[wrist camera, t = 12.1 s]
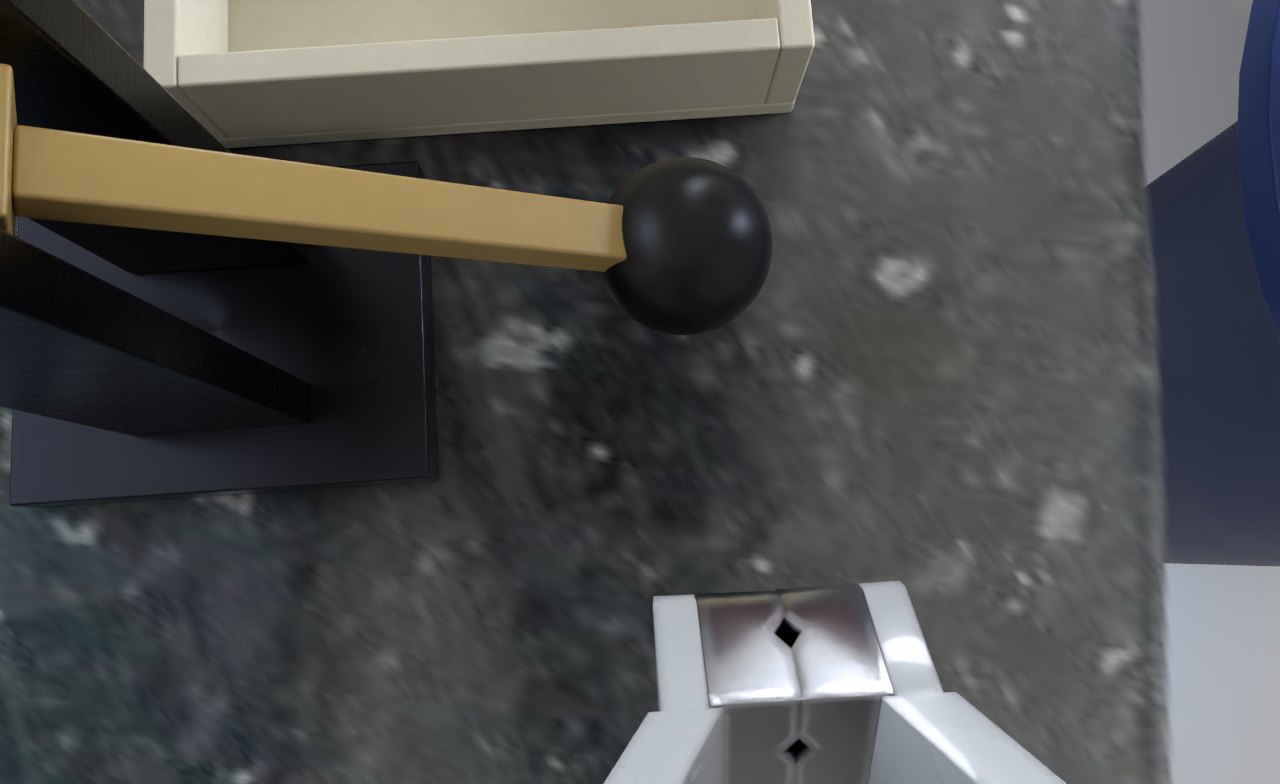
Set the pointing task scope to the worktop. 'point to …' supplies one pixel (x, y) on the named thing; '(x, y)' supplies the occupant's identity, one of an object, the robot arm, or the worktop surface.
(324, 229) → the tap lever
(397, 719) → the worktop surface
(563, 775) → the worktop surface
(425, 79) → the cream wooden tray
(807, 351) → the worktop surface
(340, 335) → the bracket
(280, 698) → the worktop surface
